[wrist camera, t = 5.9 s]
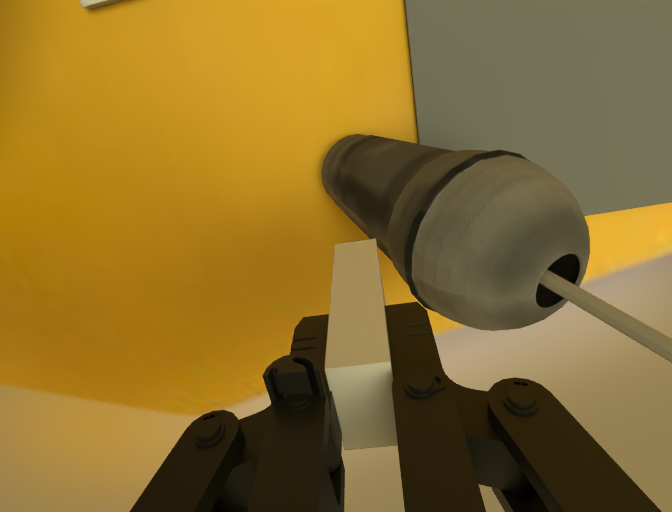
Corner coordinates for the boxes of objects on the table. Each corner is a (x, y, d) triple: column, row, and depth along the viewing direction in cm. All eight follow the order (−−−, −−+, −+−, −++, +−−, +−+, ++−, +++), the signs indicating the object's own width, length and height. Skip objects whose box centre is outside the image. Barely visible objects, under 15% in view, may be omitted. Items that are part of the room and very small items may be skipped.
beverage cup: (377, 234, 30) (688, 464, 14) (284, 210, 26) (558, 489, 10) (420, 133, 28) (842, 260, 12) (325, 91, 24) (754, 193, 8)
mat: (428, 237, 30) (429, 240, 30) (401, -29, 23) (402, -30, 22) (734, 188, 28) (741, 191, 27) (812, -122, 21) (822, -126, 20)
